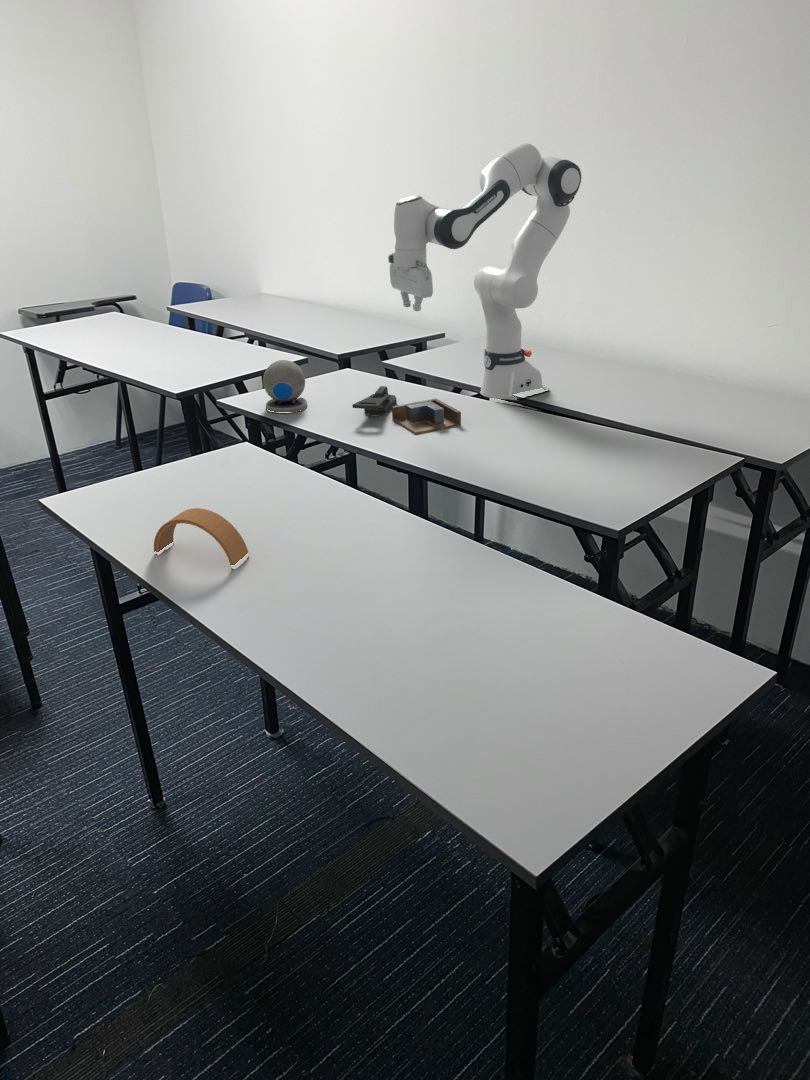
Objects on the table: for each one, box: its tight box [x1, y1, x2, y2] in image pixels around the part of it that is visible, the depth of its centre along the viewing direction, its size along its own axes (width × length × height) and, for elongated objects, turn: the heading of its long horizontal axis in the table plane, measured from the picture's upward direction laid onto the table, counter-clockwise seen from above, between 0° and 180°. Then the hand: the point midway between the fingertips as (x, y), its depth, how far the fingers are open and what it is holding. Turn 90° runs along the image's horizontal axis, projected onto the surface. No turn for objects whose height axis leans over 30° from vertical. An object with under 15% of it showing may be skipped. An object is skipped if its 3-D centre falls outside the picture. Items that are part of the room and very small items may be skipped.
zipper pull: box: [352, 385, 398, 416], centre depth 249 cm, size 9×7×25 cm
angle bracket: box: [407, 401, 444, 425], centre depth 239 cm, size 8×8×4 cm
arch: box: [153, 507, 249, 565], centre depth 169 cm, size 6×20×10 cm, turn 67°
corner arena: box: [391, 398, 462, 435], centre depth 241 cm, size 15×15×4 cm
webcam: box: [262, 359, 308, 413], centre depth 255 cm, size 13×13×15 cm
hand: (411, 308), depth 236 cm, fingers open, 5 cm apart
